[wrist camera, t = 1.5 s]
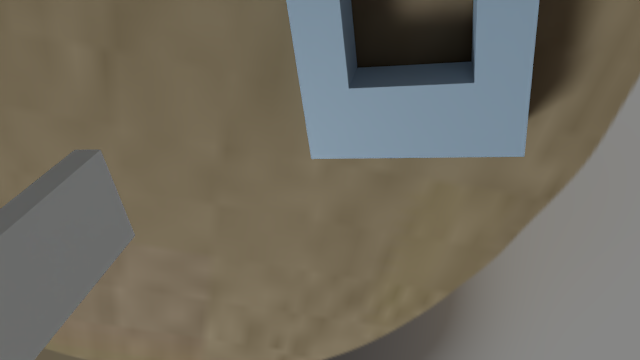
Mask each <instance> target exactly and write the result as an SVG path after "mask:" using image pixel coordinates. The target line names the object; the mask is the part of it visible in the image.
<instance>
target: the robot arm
mask: <svg viewBox="0 0 640 360" xmlns="http://www.w3.org/2000/svg"><path fill="white" fill-rule="evenodd" d="M134 236H135V234H134V232H133V229H132V227H131V224H130V222H129V219H128V217H127V214H126V212H125V209H124V207H123V204H122V202H121V199H120V197H119V194H118V192H117V189H116V187H115V184H114V182H113V179H112V177H111V175H110V172H109V170H108V167H107V165H106V162H105V160H104V157H103V155H102V152H101V150H74V151H73V152H71V153H70V154H69V155H68V156H66V157H65V158H64V159H63V160H61V161H60V162H59V163H58V164H56V165H55V166H54V167H52V168H51V169H50V170H49V171H47V172H46V173H45V174H44V175H42V176H41V177H40V178H39V179H37V180H36V181H35V182H34V183H32V184H31V185H30V186H29V187H27V188H26V189H25V190H24V191H22V192H21V193H20V194H19V195H17V196H16V197H15V198H14V199H12V200H11V201H10V202H9V203H7V204H6V205H5V206H4V207H2V208H1V209H0V360H34V359H35V358H36V357H37V356H38V354H39V353H40V352H41V351H42V349H43V348H44V347H45V346H46V345H47V343H48V342H49V341H50V340H51V338H52V337H53V336H54V335H55V333H56V332H57V331H58V330H59V329H60V327H61V326H62V325H63V324H64V322H65V321H66V320H67V319H68V317H69V316H70V315H71V314H72V313H73V311H74V310H75V309H76V308H77V306H78V305H79V304H80V303H81V301H82V300H83V299H84V298H85V297H86V295H87V294H88V293H89V292H90V290H91V289H92V288H93V287H94V285H95V284H96V283H97V282H98V281H99V279H100V278H101V277H102V276H103V274H104V273H105V272H106V271H107V269H108V268H109V267H110V266H111V264H112V263H113V262H114V261H115V260H116V258H117V257H118V256H119V255H120V253H121V252H122V251H123V250H124V248H125V247H126V246H127V245H128V244H129V242H130V241H131V240H132V239H133V237H134Z"/></svg>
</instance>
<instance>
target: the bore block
mask: <svg viewBox="0 0 640 360" xmlns="http://www.w3.org/2000/svg"><path fill="white" fill-rule="evenodd" d="M286 1H287V8H288V14H289V20H290V27H291V33H292V39H293V46H294V52H295V58H296V65H297V71H298V77H299V84H300V90H301V96H302V102H303V109H304V115H305V121H306V128H307V134H308V140H309V147H310V153H311V159H336V158H433V157H524V154H525V144H526V133H527V123H528V113H529V102H530V92H531V82H532V71H533V61H534V51H535V40H536V30H537V20H538V9H539V0H473V30H472V62H455V63H436V64H418V65H400V66H382V67H364V68H357V58H356V48H355V37H354V26H353V15H352V5H351V0H286Z"/></svg>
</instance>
